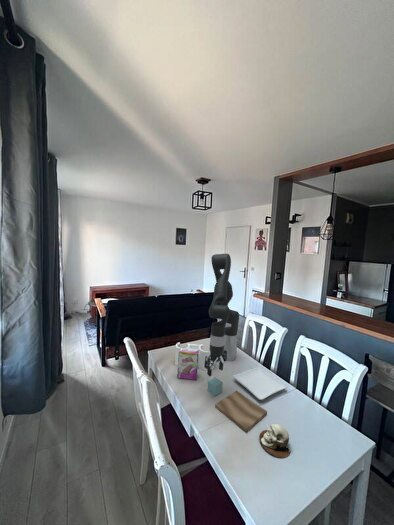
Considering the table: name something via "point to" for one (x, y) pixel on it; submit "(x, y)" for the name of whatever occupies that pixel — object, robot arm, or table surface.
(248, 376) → the salad plate
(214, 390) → the slate cube
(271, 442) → the skull
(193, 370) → the candy bar box
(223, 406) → the walnut board
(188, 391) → the table surface
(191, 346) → the bracket
